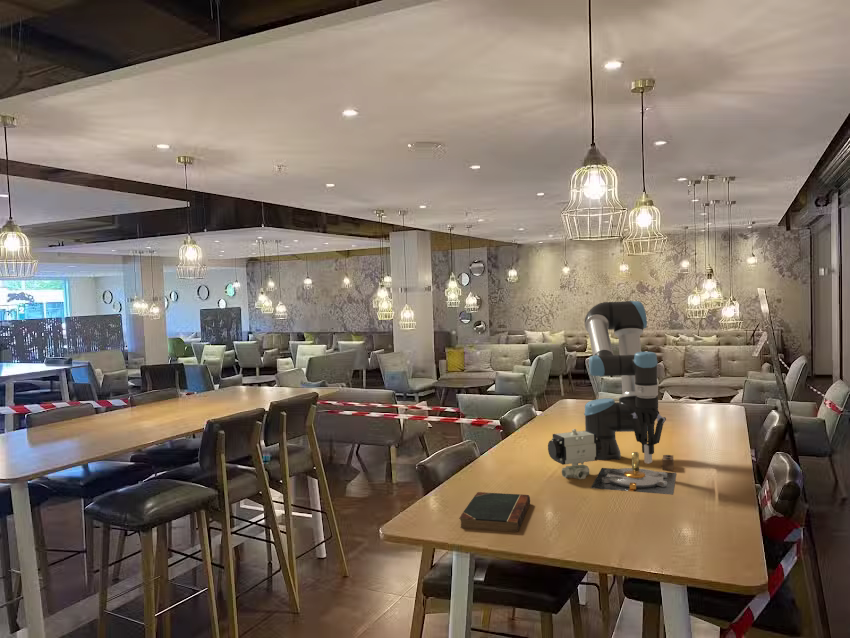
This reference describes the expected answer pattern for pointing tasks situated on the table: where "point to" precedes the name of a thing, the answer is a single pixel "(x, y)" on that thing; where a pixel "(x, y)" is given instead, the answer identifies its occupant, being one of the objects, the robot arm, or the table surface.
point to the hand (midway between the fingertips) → (648, 462)
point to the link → (668, 462)
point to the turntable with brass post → (635, 476)
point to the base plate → (656, 489)
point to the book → (495, 511)
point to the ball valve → (574, 451)
